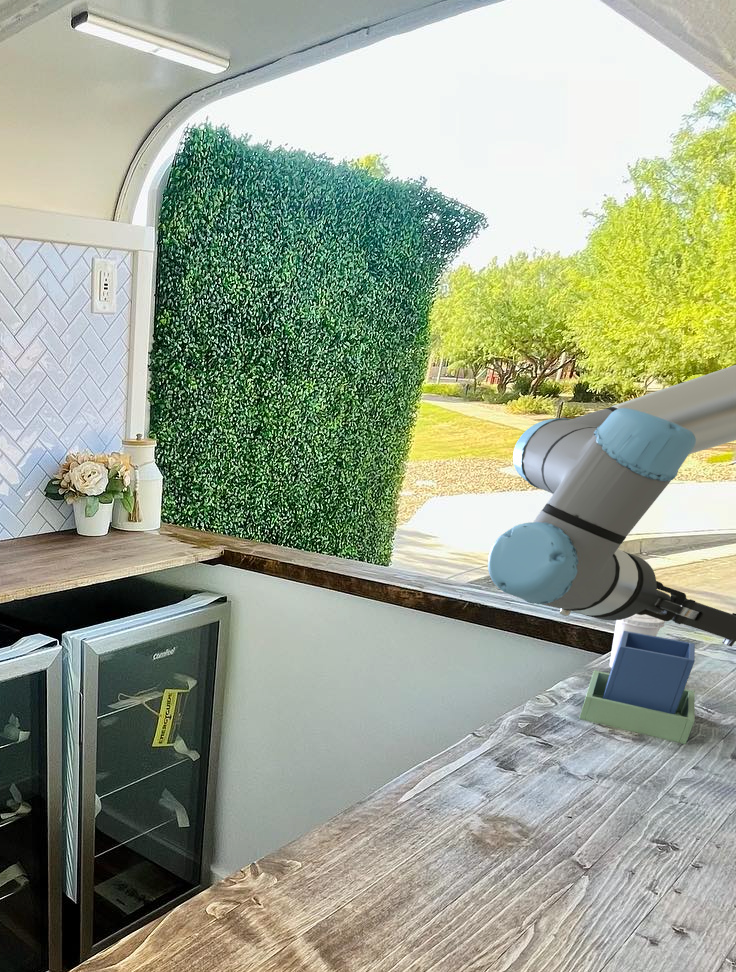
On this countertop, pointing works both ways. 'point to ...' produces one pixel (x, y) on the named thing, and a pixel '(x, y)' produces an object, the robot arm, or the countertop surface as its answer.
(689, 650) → the upper bin
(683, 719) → the lower bin
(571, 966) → the countertop surface
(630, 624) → the smoothie
